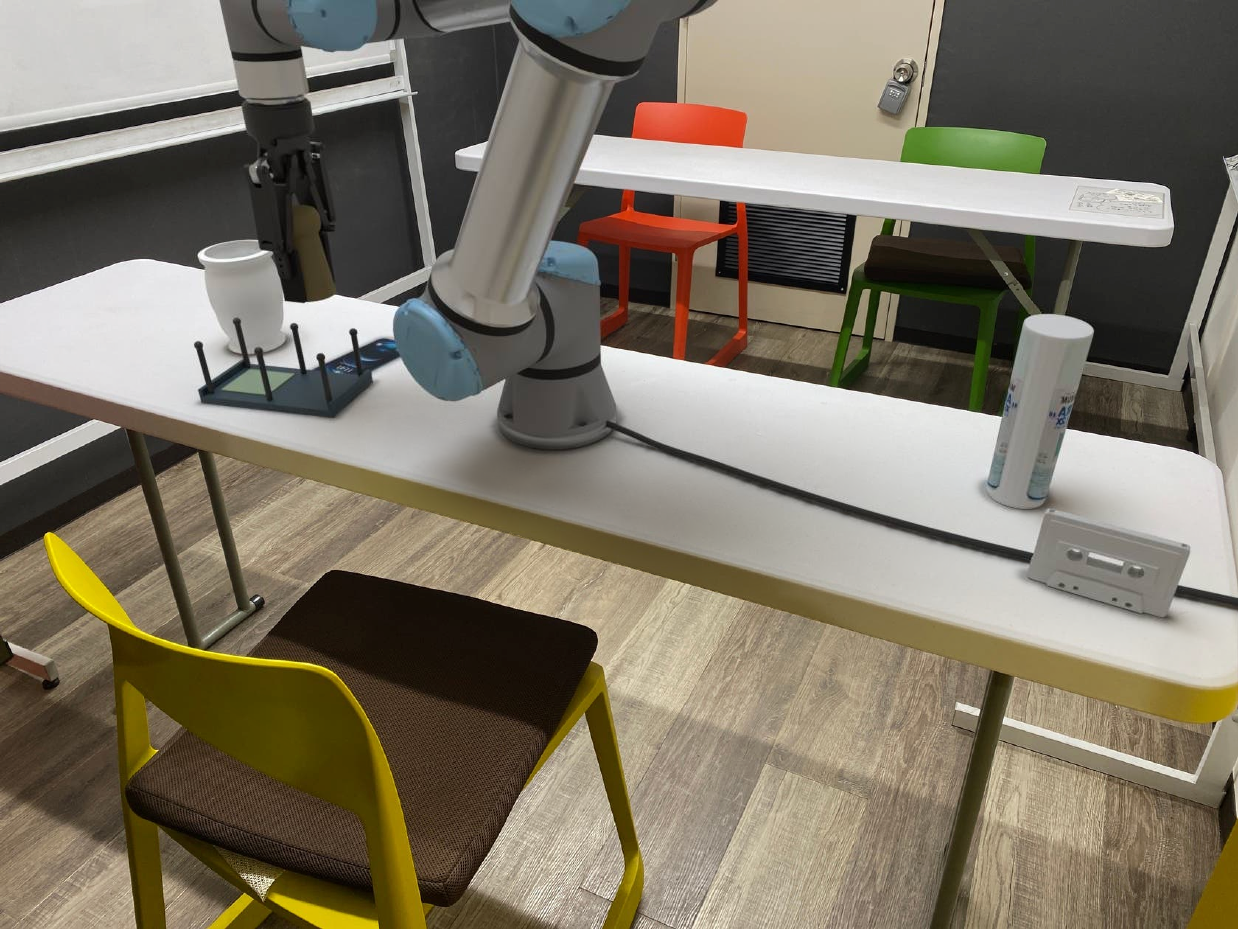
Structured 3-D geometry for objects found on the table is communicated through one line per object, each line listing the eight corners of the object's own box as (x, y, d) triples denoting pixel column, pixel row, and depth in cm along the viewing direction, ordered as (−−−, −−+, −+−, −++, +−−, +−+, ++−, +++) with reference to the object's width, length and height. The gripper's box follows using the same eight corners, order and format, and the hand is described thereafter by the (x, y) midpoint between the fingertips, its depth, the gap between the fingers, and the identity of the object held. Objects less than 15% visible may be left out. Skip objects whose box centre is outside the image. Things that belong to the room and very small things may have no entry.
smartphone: (418, 346, 137) (345, 382, 126) (419, 350, 137) (345, 386, 127) (382, 336, 141) (307, 371, 130) (382, 340, 141) (308, 374, 130)
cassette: (1166, 610, 83) (1193, 542, 79) (1165, 622, 81) (1191, 553, 77) (1028, 570, 88) (1046, 504, 84) (1025, 580, 87) (1043, 514, 83)
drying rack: (373, 382, 127) (363, 325, 122) (333, 417, 118) (321, 357, 113) (248, 369, 131) (235, 314, 127) (201, 402, 122) (184, 344, 118)
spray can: (993, 472, 104) (1032, 309, 94) (1053, 489, 101) (1100, 322, 90) (977, 498, 99) (1016, 328, 89) (1039, 516, 96) (1086, 343, 86)
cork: (278, 293, 114) (260, 206, 109) (322, 281, 118) (306, 197, 112) (301, 306, 111) (283, 217, 105) (345, 293, 114) (330, 207, 108)
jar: (270, 360, 134) (247, 262, 126) (208, 355, 135) (181, 258, 128) (305, 333, 143) (286, 240, 135) (246, 329, 144) (224, 237, 137)
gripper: (292, 83, 111) (323, 264, 123) (192, 111, 95) (239, 316, 107) (346, 86, 109) (373, 270, 121) (255, 115, 94) (295, 322, 106)
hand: (310, 291), depth 114 cm, fingers closed on cork, 6 cm apart
